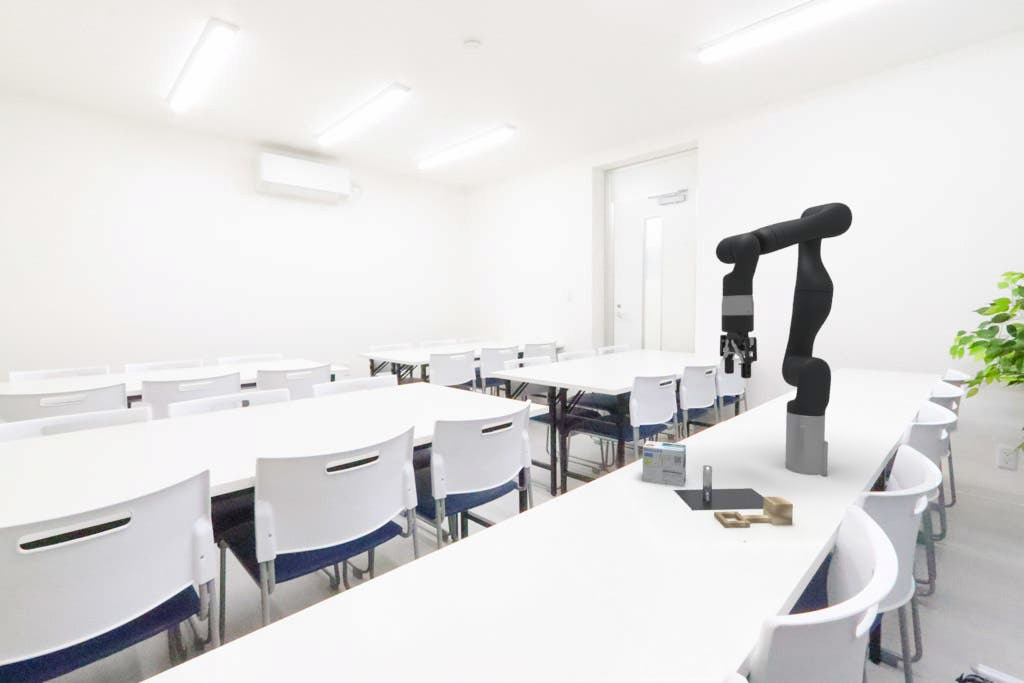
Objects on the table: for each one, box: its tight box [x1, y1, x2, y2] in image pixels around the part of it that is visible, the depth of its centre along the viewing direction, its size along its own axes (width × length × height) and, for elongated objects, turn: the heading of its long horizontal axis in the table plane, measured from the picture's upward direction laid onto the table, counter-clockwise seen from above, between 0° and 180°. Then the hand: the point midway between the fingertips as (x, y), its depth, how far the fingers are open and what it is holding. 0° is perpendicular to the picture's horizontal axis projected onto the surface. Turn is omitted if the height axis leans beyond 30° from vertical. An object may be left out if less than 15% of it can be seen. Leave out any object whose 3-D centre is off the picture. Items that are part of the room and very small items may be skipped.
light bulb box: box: [642, 440, 687, 488], centre depth 125 cm, size 11×7×11 cm, turn 65°
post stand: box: [673, 464, 765, 511], centre depth 112 cm, size 20×12×9 cm, turn 91°
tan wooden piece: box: [713, 496, 794, 529], centre depth 100 cm, size 15×5×5 cm, turn 91°
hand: (737, 375), depth 120 cm, fingers open, 8 cm apart
